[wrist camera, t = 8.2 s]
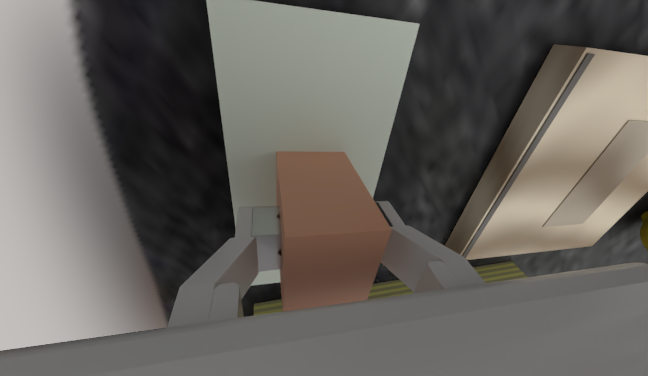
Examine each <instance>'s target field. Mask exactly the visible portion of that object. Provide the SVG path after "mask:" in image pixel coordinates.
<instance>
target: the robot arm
mask: <svg viewBox="0 0 648 376" xmlns="http://www.w3.org/2000/svg"><path fill="white" fill-rule="evenodd" d="M375 203H376V205H377V206H378V208H379V210H380V211H381V213H382V214H383V216H384V218H385V219H386V221H387V223H388V224H389V226H390V228H391V229H392V231H391V233H390V236H389V239H388V242H387V245H386V248H385V251H384V253H383V256H382V259H381V263H382V264H383V265H384V266H385V267H386V268H387V269H388V270H390V271H391V272H392V273H393V274H394V275H395V276H396V277H397V278H399V279H400V280H401V281H402V282H403V283H404V284H405V285H406V286H408V287H409V288H410V289H411V290H412V291H413V293H412V294H405V295H398V296H391V297H384V298H376V299H369V300H362V301H355V302H348V303H341V304H334V305H326V306H319V307H312V308H305V309H298V310H290V311H283V312H276V313H269V314H261V315H254V316H247V317H244V316H243V308H242V301H241V300H242V298H243V297H244V295H245V294H246V292H247V291H248V289H249V287H250V286H251V284H252V283H253V281H254V280H255V278H256V276H257V275H258V272H261V271H269V270H277V269H281V248H282V231H281V220H280V209H279V206H253V207H239V209H238V215H237V223H236V231H235V238H230V239H229V240H228V241H227V242H226V243H225V244H224V245H223V246H222V247H221V248H220V249H218V250H217V251H216V252H215V253H214V254H213V255H212V256H211V257H210V258H209V259H208V260H207V261H206V262H205V263H204V264H203V265H202V266H201V267H200V268H199V269H198V270H197V271H196V272H195V273H194V274H193V275H192V276H191V277H190V278H189V279H188V280H186V281H185V282H184V283H183V284H182V285H181V286H180V288H179V291H178V294H177V297H176V301H175V304H174V307H173V310H172V313H171V317H170V320H169V323H168V326H167V328H162V329H154V330H147V331H139V332H132V333H125V334H118V335H111V336H104V337H97V338H90V339H82V340H75V341H68V342H61V343H54V344H46V345H39V346H32V347H25V348H18V349H10V350H3V351H0V376H648V264H646V263H639V262H636V263H626V264H620V265H614V266H606V267H599V268H592V269H585V270H577V271H570V272H563V273H556V274H549V275H541V276H534V277H527V278H520V279H513V280H505V281H498V282H491V283H485V281H484V280H483V279H482V278H481V277H480V275H479V274H478V273H477V272H476V271H475V269H474V268H473V267H472V266H471V265H470V264H469V262H468V261H467V260H466V259H465V258H464V257H463V256H461V255H460V254H458V253H456V252H454V251H453V250H451V249H449V248H447V247H446V246H444V245H442V244H440V243H439V242H437V241H435V240H433V239H432V238H430V237H428V236H426V235H425V234H423V233H421V232H419V231H418V230H416V229H414V228H412V227H411V226H406V225H405V224H404V223H403V221H402V220H401V218H400V217H399V215H398V214H397V212H396V211H395V210H394V208H393V207H392V205H391V204H390V202H388V201H376V202H375Z"/></svg>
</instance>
